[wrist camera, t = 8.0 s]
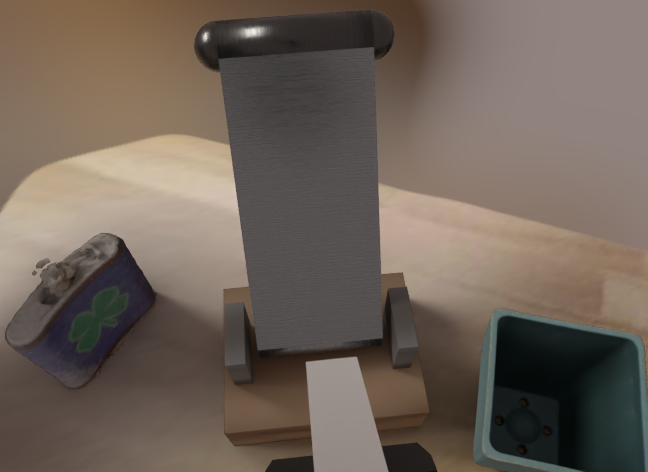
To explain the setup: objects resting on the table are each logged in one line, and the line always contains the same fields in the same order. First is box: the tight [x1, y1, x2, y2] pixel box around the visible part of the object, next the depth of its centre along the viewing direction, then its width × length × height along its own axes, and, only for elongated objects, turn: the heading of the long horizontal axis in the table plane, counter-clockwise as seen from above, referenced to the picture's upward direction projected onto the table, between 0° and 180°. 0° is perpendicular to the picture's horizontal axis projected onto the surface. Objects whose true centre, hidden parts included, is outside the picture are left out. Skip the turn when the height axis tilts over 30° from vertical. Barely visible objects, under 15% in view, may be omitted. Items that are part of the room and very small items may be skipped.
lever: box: [194, 9, 395, 359], centre depth 33 cm, size 3×11×21 cm
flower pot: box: [473, 309, 648, 472], centre depth 35 cm, size 9×9×9 cm
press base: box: [224, 273, 430, 446], centre depth 37 cm, size 10×13×8 cm
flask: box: [5, 233, 156, 389], centre depth 38 cm, size 9×3×11 cm, turn 148°
